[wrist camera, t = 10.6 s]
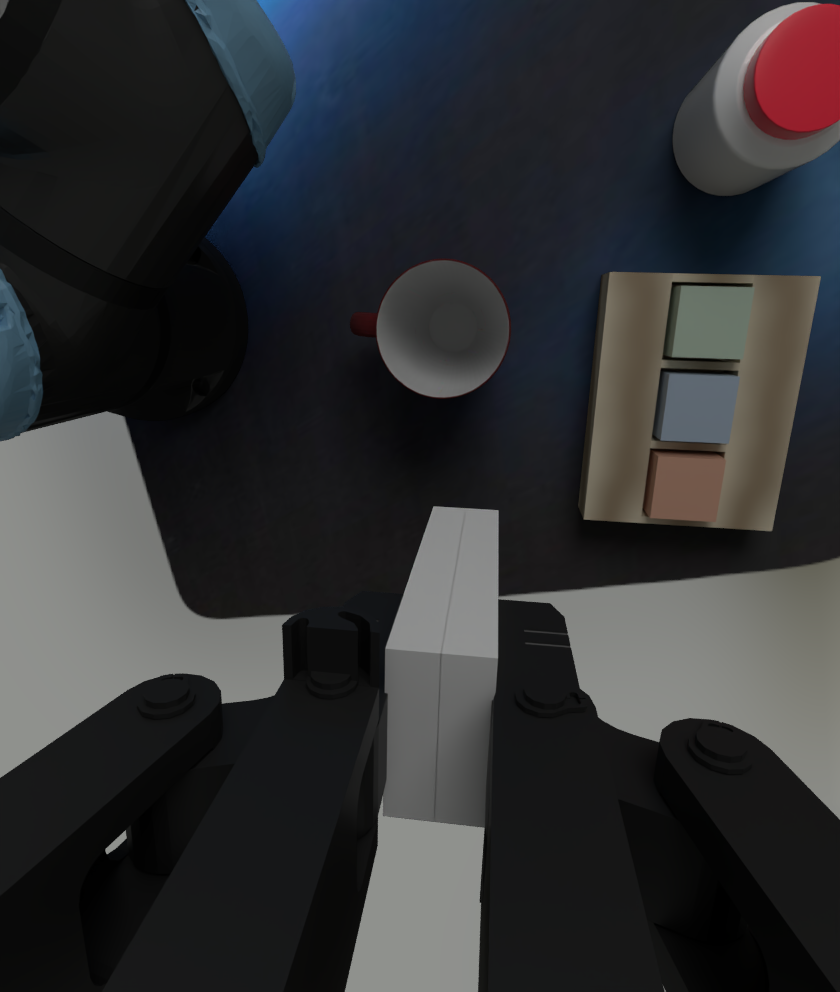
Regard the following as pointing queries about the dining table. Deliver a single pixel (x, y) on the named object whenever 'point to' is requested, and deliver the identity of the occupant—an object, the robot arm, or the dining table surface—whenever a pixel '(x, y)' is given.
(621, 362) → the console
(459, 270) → the mug
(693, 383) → the tile slate
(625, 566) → the dining table surface
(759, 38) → the pill bottle
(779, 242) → the dining table surface
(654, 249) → the dining table surface
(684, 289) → the tile sage
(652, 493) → the tile terracotta
